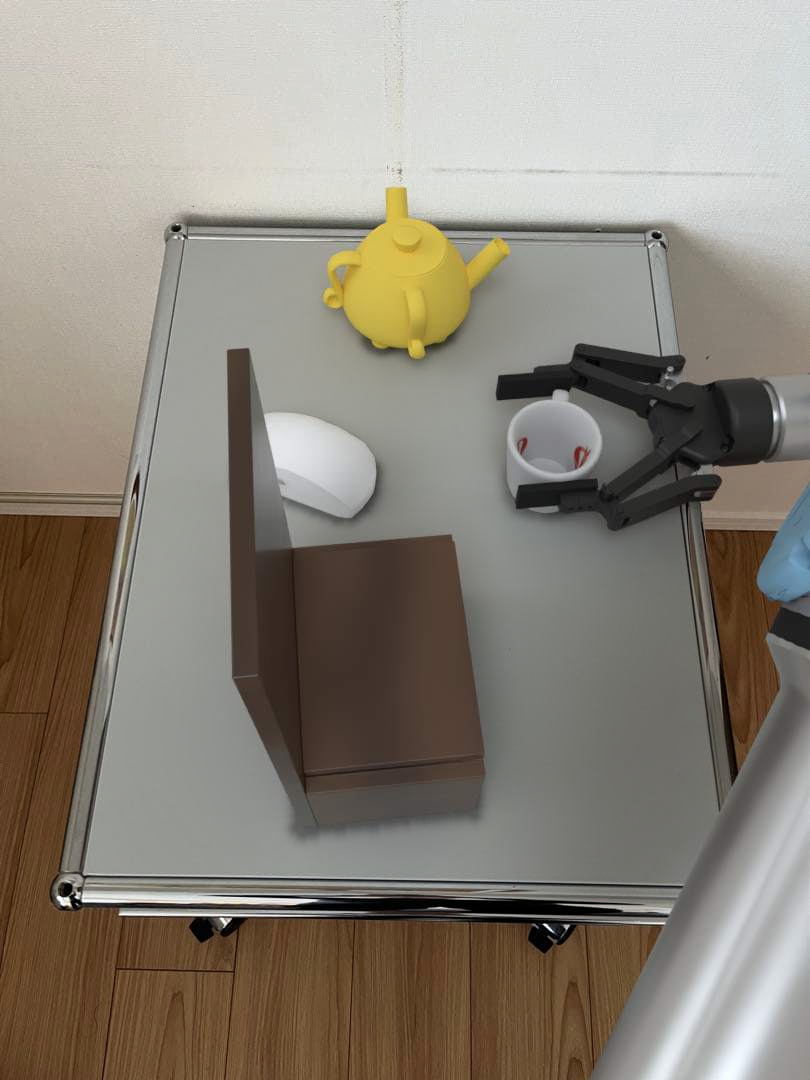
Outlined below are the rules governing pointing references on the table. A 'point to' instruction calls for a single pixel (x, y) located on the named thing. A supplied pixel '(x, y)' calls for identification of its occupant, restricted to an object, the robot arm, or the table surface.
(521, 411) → the cup
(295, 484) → the computer mouse
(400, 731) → the wooden chair
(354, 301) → the teapot
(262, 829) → the table surface
